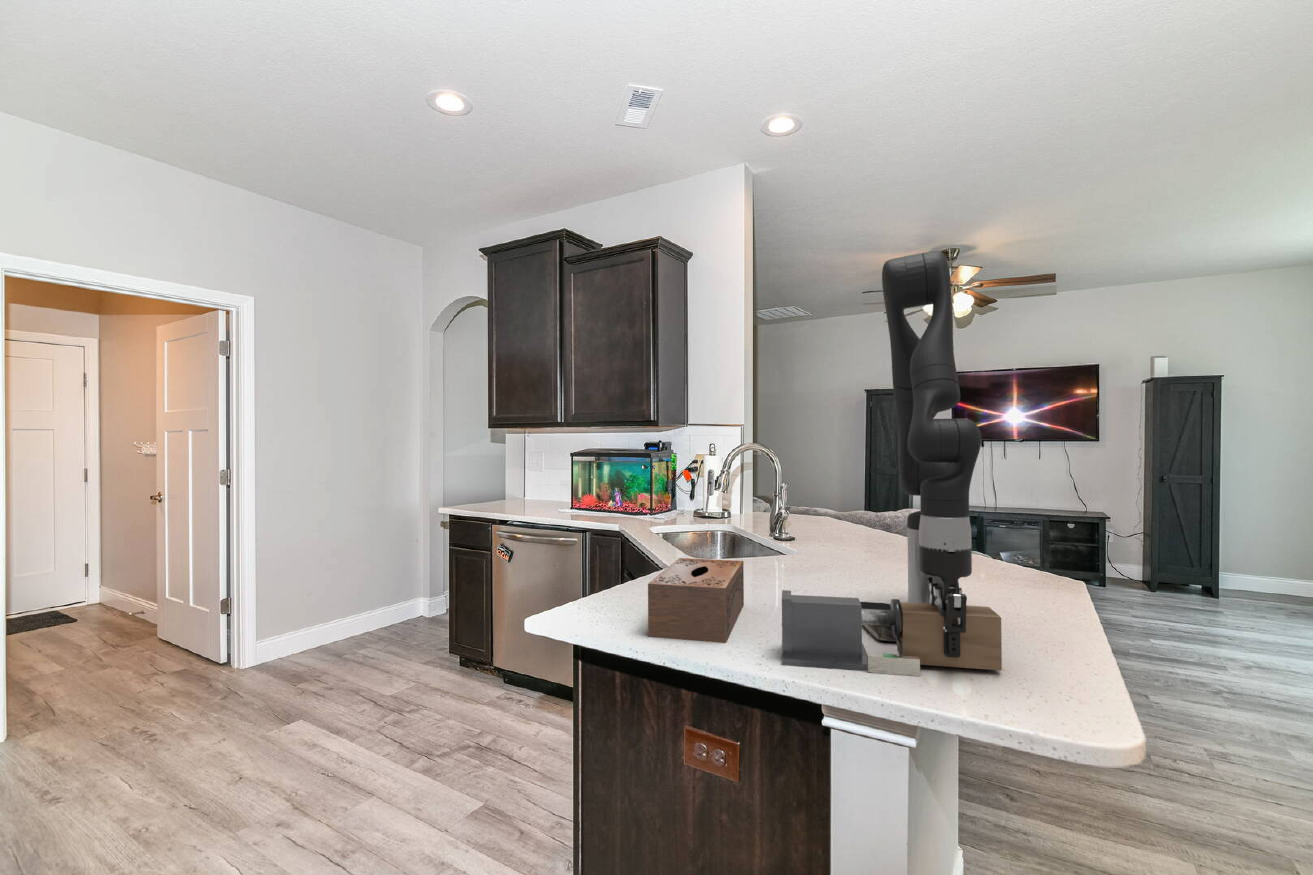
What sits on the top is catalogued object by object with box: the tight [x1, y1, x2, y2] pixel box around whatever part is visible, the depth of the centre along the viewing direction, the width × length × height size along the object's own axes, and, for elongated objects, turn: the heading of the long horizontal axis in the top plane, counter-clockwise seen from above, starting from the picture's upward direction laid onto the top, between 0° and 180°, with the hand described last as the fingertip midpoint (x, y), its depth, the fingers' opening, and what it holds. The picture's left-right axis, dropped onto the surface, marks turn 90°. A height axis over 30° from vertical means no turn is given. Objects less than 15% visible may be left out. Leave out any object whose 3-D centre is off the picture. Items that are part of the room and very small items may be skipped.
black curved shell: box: [860, 601, 897, 643], centre depth 113 cm, size 16×8×4 cm, turn 177°
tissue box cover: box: [647, 557, 745, 644], centre depth 121 cm, size 26×14×10 cm, turn 165°
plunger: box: [862, 598, 903, 654], centre depth 97 cm, size 8×13×7 cm, turn 77°
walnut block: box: [896, 601, 1003, 671], centre depth 95 cm, size 6×14×8 cm, turn 77°
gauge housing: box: [781, 589, 921, 677], centre depth 98 cm, size 11×20×10 cm, turn 77°
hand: (946, 648), depth 95 cm, fingers closed on walnut block, 6 cm apart
